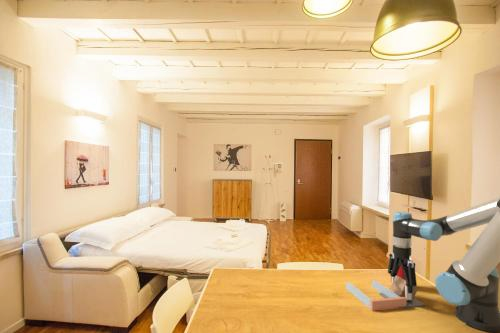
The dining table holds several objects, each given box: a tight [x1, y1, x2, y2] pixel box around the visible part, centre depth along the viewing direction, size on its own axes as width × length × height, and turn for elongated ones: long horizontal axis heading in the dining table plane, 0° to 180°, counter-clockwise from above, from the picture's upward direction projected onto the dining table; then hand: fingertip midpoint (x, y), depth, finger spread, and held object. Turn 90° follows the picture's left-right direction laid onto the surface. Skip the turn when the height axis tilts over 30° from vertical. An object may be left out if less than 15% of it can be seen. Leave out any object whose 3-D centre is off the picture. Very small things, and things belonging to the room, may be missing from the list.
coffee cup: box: [397, 256, 414, 280], centre depth 142 cm, size 8×8×15 cm
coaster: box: [379, 291, 425, 309], centre depth 128 cm, size 13×13×1 cm
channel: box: [345, 280, 406, 312], centre depth 130 cm, size 22×16×4 cm
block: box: [389, 275, 419, 301], centre depth 128 cm, size 7×7×7 cm
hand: (401, 294), depth 128 cm, fingers open, 8 cm apart
